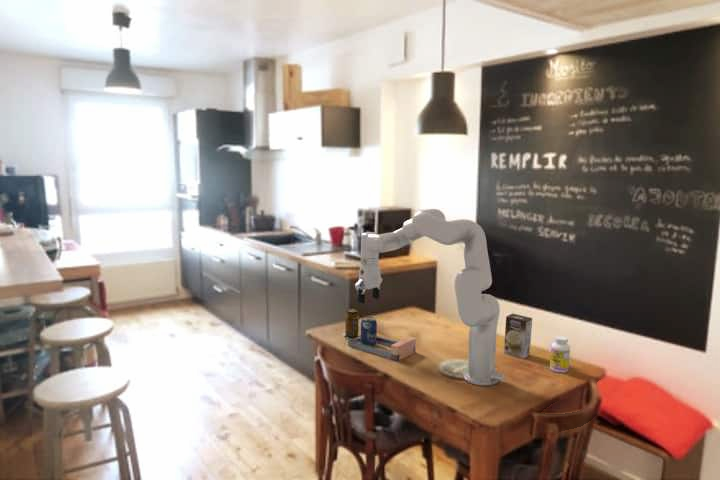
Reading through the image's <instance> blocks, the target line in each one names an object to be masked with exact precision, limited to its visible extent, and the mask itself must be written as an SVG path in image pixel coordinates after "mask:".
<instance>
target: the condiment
mask: <svg viewBox="0 0 720 480" xmlns="http://www.w3.org/2000/svg"><path fill="white" fill-rule="evenodd" d="M358 311H359V310H357V309H355V308H352V309H351V308H350V309H347V310H346V312H345V319H344V320H345V324H344V325H345V328H344V329H345V330H344V333H342V336H343V337H344V339H345V340H361V335H360V334H359V330H360V329H359V312H358ZM347 337H348V338H347Z"/></svg>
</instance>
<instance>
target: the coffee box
mask: <svg viewBox="0 0 720 480" xmlns="http://www.w3.org/2000/svg"><path fill="white" fill-rule="evenodd" d="M532 326H533V317H529V316H525V315H520V314H516V313H510V314H509V315H507V316H506V317H505V328H504V329H505V331H504V332H505V333H504V344H503V345H504V346H503V347H504V348H503V354H507V355H510V356H512V357H516V358H520V359H526V358H527V357H528V356H530V354H531V343H532V342H531V341H532Z"/></svg>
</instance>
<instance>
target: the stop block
mask: <svg viewBox="0 0 720 480" xmlns="http://www.w3.org/2000/svg"><path fill="white" fill-rule="evenodd" d="M416 341H417V340H416V337H415V338H414V337H411V336H409V337H406V338H404V339H402V340H400V341H397V343H395V344H393V345H391V349H390V352H391V354H393V356H394V355H395V356H394V357H393V356H392V355H391V358H392V357H393V358H394V360H393V361H394V362H395V361H396V362H399V361H400V360H402V359H405V358H407V357H409V356H410V355H414V353H413V348H415V349H414V351H415V352H416ZM397 355H398V356H399V357H398V356H397ZM397 357H398V359H397ZM398 360H399V361H398Z"/></svg>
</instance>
